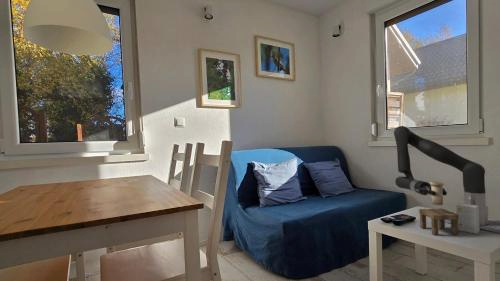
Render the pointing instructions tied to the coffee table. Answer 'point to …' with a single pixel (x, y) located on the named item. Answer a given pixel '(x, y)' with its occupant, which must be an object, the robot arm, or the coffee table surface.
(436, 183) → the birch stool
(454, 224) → the walnut footstool
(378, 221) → the coffee table surface
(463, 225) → the small box
